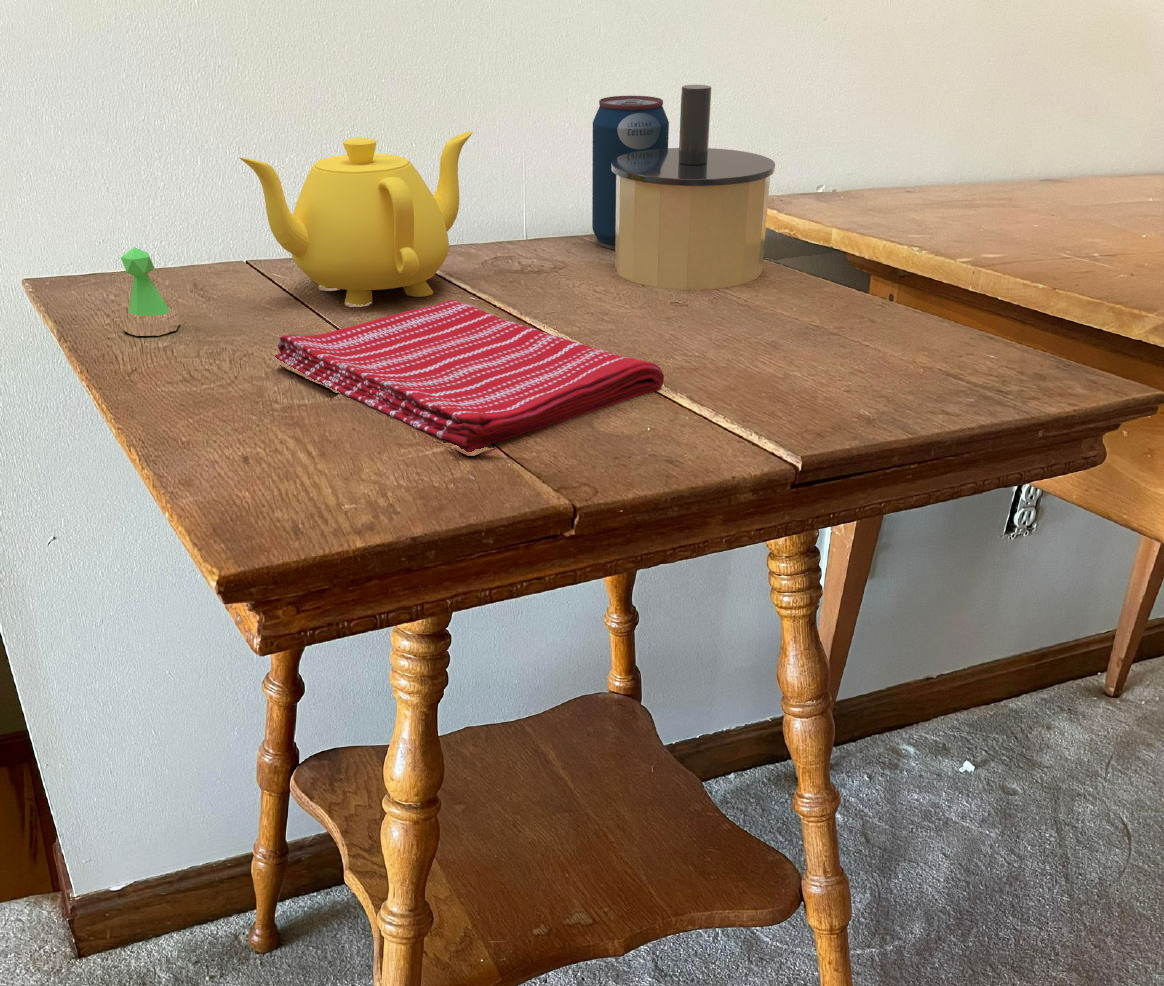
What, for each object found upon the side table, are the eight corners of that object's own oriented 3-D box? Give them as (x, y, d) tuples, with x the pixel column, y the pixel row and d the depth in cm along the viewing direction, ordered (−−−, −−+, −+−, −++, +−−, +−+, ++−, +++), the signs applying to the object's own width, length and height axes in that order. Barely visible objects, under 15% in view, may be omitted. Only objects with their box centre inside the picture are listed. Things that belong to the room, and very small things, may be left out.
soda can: (660, 253, 111) (664, 106, 103) (586, 250, 112) (586, 104, 104) (668, 235, 116) (674, 95, 109) (598, 232, 117) (599, 93, 110)
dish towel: (474, 465, 71) (471, 421, 70) (269, 369, 85) (263, 331, 84) (674, 396, 80) (675, 356, 79) (459, 320, 94) (457, 285, 93)
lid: (785, 165, 103) (793, 78, 99) (759, 198, 93) (766, 102, 89) (633, 158, 106) (635, 72, 102) (591, 189, 96) (591, 95, 92)
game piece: (186, 332, 92) (170, 249, 89) (129, 340, 91) (110, 257, 87) (174, 317, 95) (158, 237, 92) (119, 325, 94) (100, 244, 90)
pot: (771, 262, 108) (780, 158, 103) (746, 301, 98) (755, 188, 93) (636, 253, 111) (638, 151, 106) (599, 290, 101) (599, 180, 96)
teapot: (302, 335, 92) (278, 170, 85) (235, 290, 101) (209, 139, 95) (526, 294, 100) (521, 141, 93) (444, 256, 110) (434, 116, 103)
